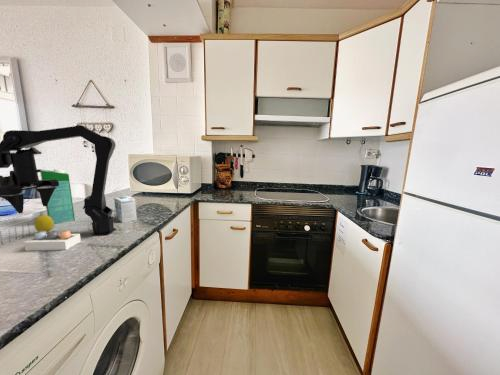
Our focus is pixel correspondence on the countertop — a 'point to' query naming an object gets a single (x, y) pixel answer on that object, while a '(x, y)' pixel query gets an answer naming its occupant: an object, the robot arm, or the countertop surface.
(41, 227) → the lemon
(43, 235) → the slate button
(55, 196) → the milk carton
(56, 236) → the charcoal button
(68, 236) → the terracotta button
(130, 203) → the light bulb box
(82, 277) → the countertop surface
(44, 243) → the frame
